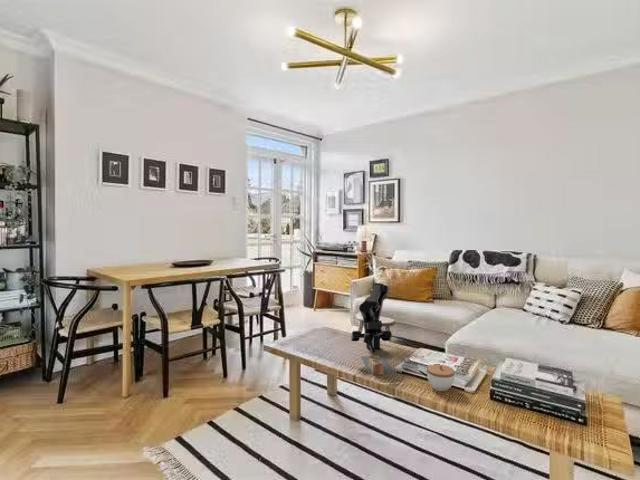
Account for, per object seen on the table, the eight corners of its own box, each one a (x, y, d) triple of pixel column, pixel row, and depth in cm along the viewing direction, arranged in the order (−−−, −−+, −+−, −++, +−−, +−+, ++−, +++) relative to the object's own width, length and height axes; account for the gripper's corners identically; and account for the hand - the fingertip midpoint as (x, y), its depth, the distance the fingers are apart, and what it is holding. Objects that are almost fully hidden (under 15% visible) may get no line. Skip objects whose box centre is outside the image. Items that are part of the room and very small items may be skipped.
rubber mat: (384, 356, 183) (384, 355, 183) (395, 373, 163) (395, 372, 163) (360, 357, 183) (360, 356, 183) (368, 374, 163) (368, 373, 163)
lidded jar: (435, 379, 158) (435, 358, 157) (459, 388, 150) (459, 365, 150) (421, 387, 151) (422, 365, 150) (445, 396, 143) (446, 373, 142)
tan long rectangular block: (378, 355, 171) (383, 364, 162) (378, 365, 172) (383, 374, 162) (368, 356, 171) (373, 364, 161) (368, 365, 171) (373, 374, 161)
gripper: (352, 314, 174) (355, 345, 164) (391, 314, 176) (396, 344, 165) (349, 325, 183) (352, 355, 172) (386, 325, 184) (392, 355, 173)
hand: (373, 352), depth 171 cm, fingers closed
